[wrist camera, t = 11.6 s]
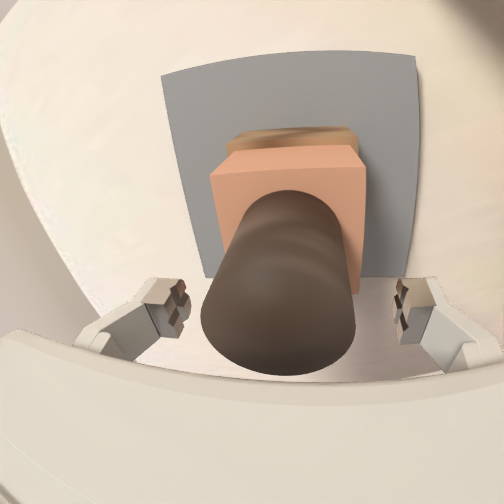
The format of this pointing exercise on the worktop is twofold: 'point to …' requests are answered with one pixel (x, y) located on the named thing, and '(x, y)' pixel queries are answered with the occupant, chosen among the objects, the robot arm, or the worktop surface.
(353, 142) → the walnut base block
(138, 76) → the worktop surface
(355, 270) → the terracotta top block
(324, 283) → the espresso cylinder
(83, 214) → the worktop surface
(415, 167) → the slate mat
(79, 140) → the worktop surface
